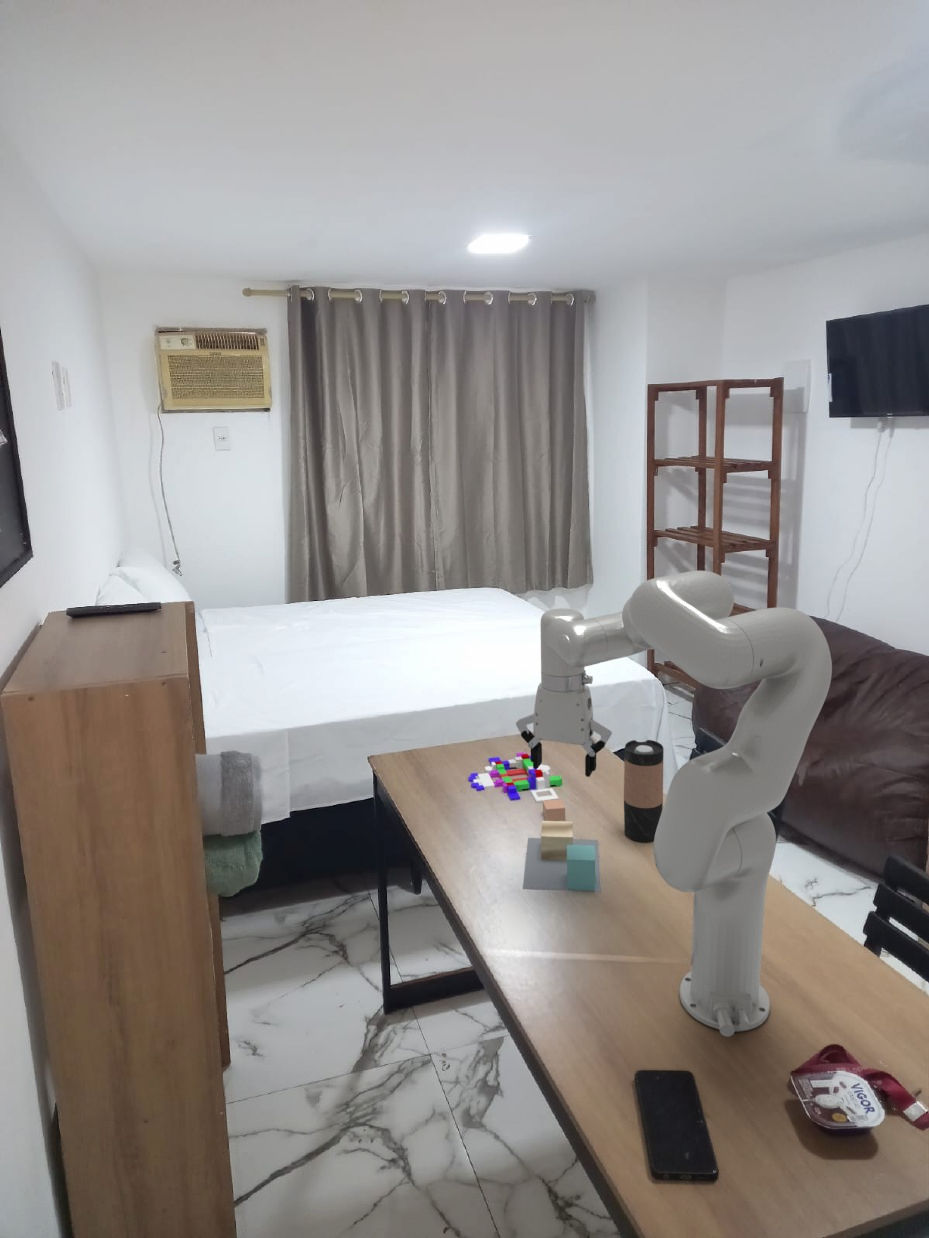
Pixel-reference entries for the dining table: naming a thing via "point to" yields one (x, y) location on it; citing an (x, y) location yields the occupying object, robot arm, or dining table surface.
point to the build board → (553, 868)
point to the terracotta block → (554, 810)
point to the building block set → (535, 778)
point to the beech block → (556, 839)
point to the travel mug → (643, 789)
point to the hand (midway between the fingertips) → (563, 769)
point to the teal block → (581, 867)
